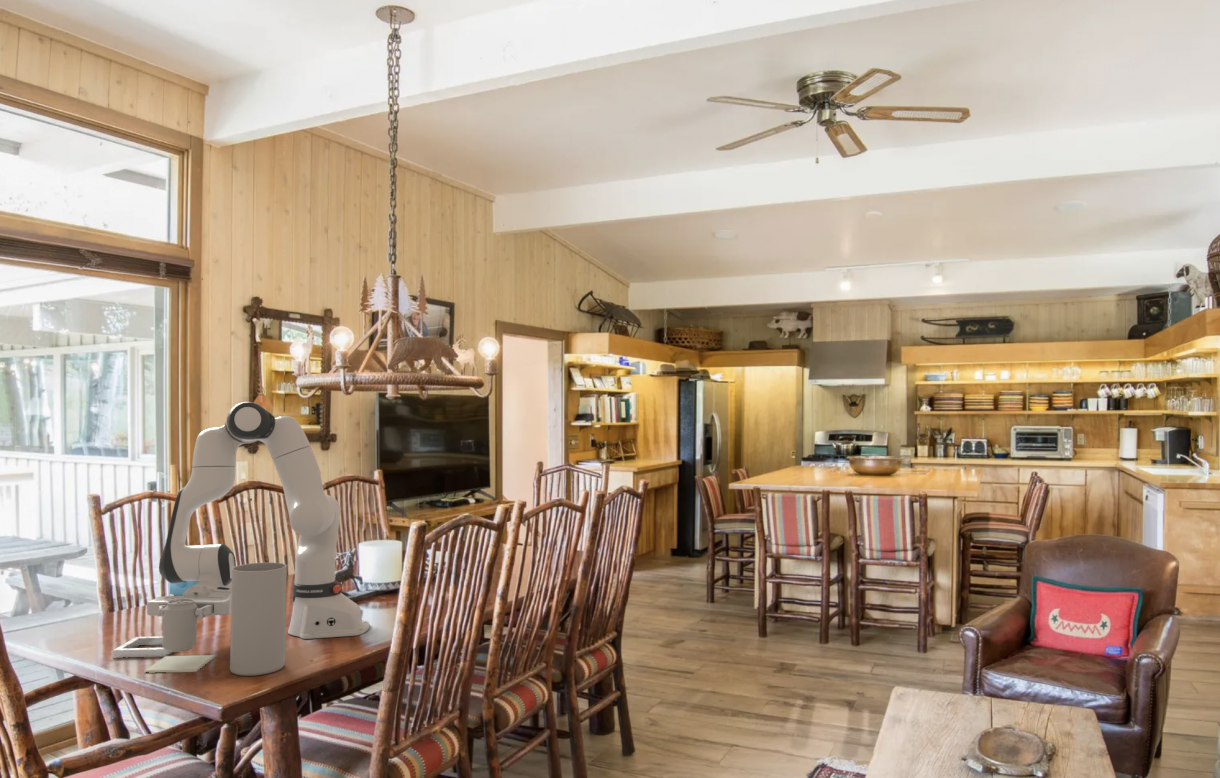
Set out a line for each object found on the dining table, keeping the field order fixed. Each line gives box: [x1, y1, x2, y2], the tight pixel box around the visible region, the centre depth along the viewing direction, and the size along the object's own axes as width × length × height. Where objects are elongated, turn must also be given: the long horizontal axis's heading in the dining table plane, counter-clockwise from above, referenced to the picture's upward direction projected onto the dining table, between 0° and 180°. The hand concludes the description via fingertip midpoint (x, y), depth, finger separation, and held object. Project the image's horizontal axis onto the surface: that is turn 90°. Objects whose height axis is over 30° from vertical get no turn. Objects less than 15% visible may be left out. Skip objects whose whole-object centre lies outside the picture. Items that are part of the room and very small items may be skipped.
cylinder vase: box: [229, 562, 288, 677], centre depth 206 cm, size 12×12×25 cm
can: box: [161, 599, 198, 653], centre depth 208 cm, size 8×8×12 cm
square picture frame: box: [112, 635, 173, 659], centre depth 221 cm, size 13×13×2 cm
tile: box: [144, 654, 215, 674], centre depth 208 cm, size 12×12×1 cm
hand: (179, 613), depth 208 cm, fingers closed on can, 7 cm apart
